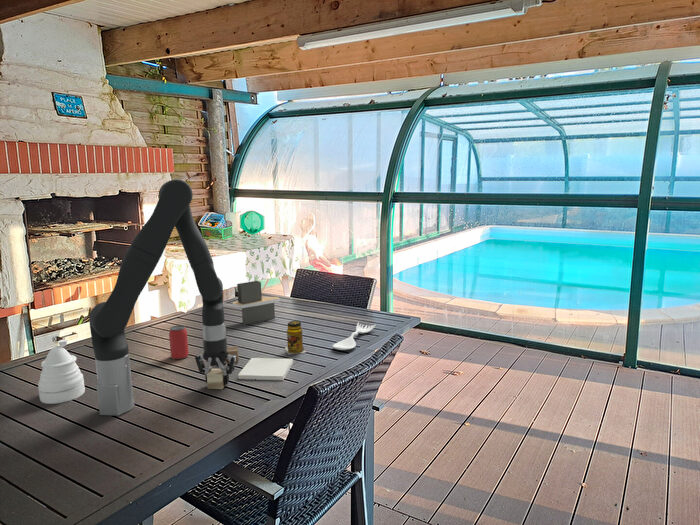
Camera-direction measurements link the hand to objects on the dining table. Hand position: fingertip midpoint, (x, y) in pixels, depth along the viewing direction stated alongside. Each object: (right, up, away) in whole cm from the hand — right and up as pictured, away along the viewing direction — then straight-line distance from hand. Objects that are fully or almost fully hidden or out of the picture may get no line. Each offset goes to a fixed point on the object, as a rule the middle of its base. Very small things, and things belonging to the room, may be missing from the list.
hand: (217, 384), depth 166 cm
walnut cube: (-1, +3, +22) cm, 22 cm away
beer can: (-22, +4, +27) cm, 36 cm away
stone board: (+14, +2, +13) cm, 19 cm away
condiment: (+23, +5, +33) cm, 40 cm away
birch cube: (0, -1, 0) cm, 0 cm away
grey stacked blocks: (0, +12, +73) cm, 74 cm away
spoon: (+46, +8, +43) cm, 64 cm away
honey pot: (-50, -3, -4) cm, 50 cm away
